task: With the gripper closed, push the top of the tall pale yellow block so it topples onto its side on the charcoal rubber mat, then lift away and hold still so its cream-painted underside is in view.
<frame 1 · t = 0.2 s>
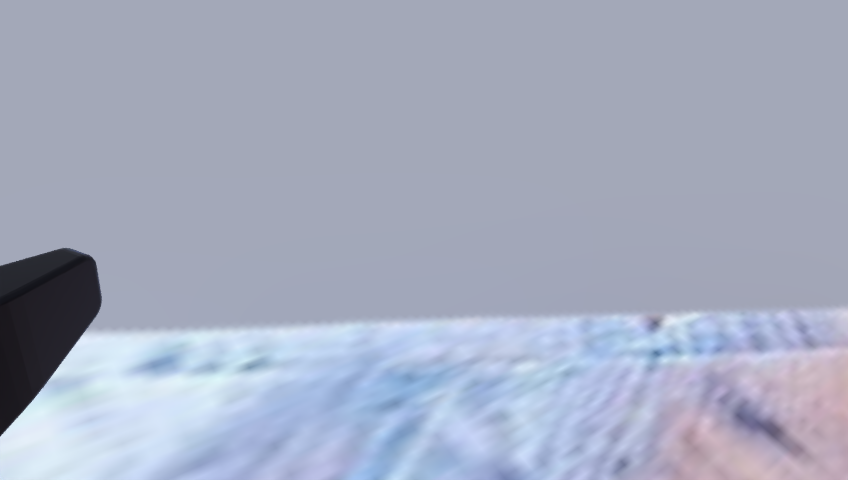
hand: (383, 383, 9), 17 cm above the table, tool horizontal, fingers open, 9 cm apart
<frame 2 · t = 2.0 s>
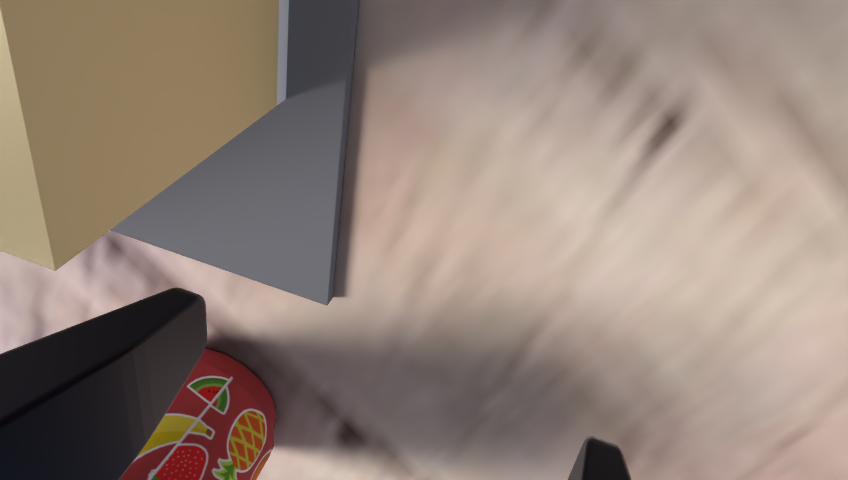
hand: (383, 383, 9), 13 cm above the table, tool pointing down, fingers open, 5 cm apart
smoothie: (225, 390, 33), on the table
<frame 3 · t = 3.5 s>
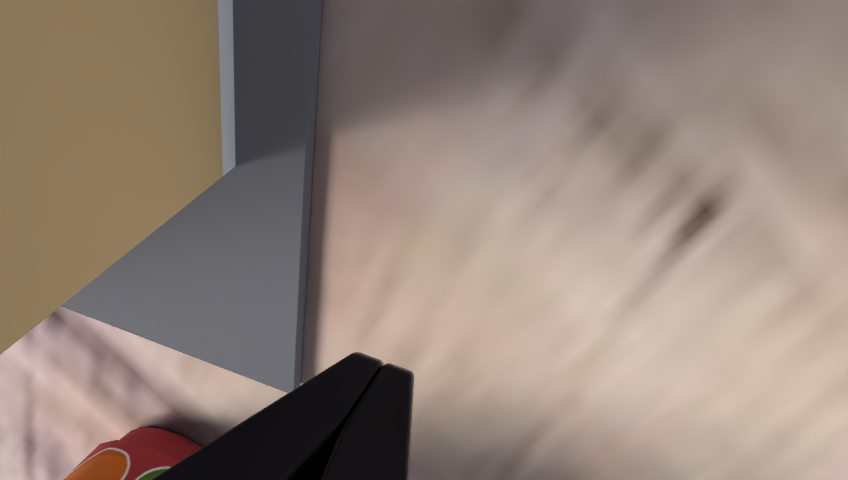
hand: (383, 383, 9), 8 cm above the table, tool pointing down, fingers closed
pale yellow block: (127, 28, 17), resting on charcoal mat
smoothie: (186, 471, 29), on the table
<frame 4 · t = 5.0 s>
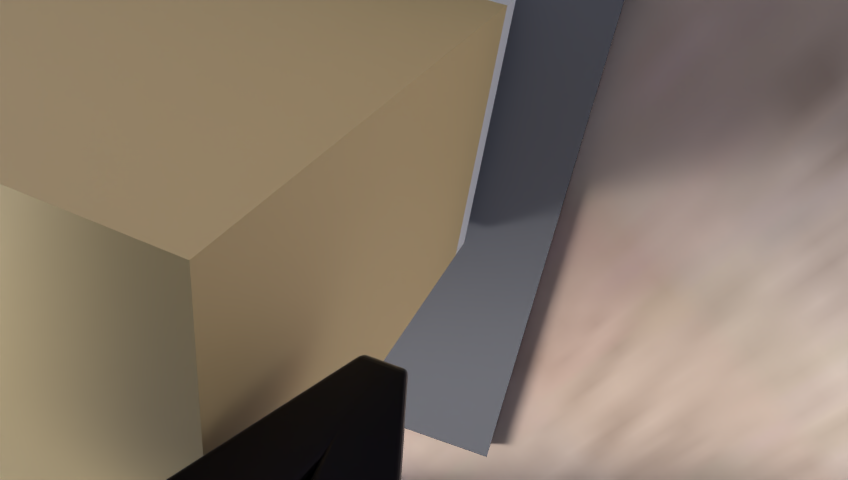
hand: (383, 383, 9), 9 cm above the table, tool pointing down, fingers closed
pale yellow block: (366, 96, 16), point 1 cm above the table, tilted 5°, touching charcoal mat, gripper
charcoal mat: (159, 27, 18), on the table
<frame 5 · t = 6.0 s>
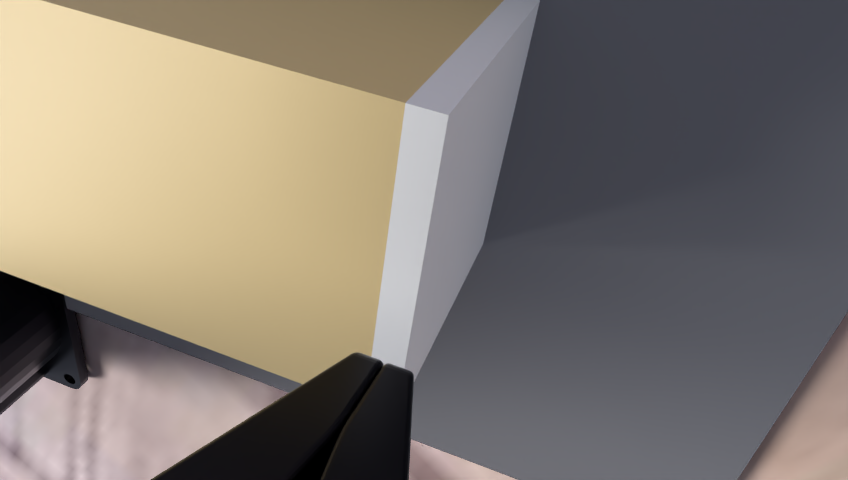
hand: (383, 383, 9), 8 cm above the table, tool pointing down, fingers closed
pale yellow block: (471, 199, 13), point 3 cm above the table, tilted 90°, touching charcoal mat
charcoal mat: (391, 92, 17), on the table
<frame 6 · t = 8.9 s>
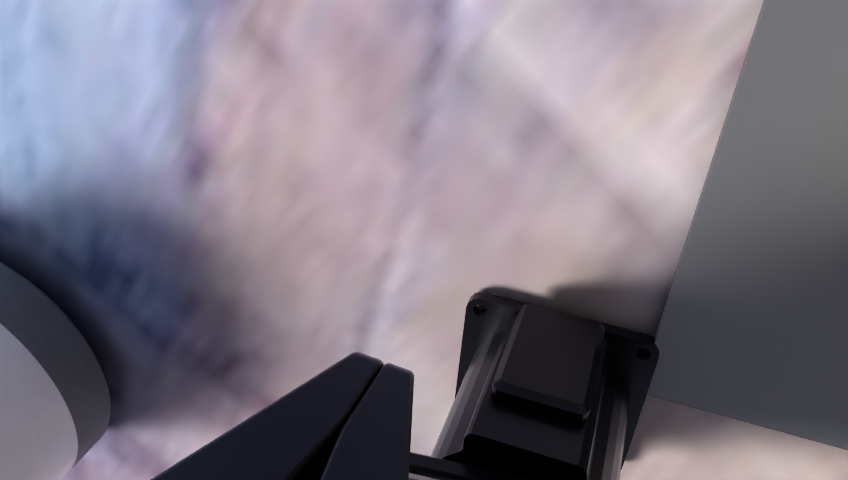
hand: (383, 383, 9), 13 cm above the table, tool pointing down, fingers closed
planter: (24, 333, 36), on the table
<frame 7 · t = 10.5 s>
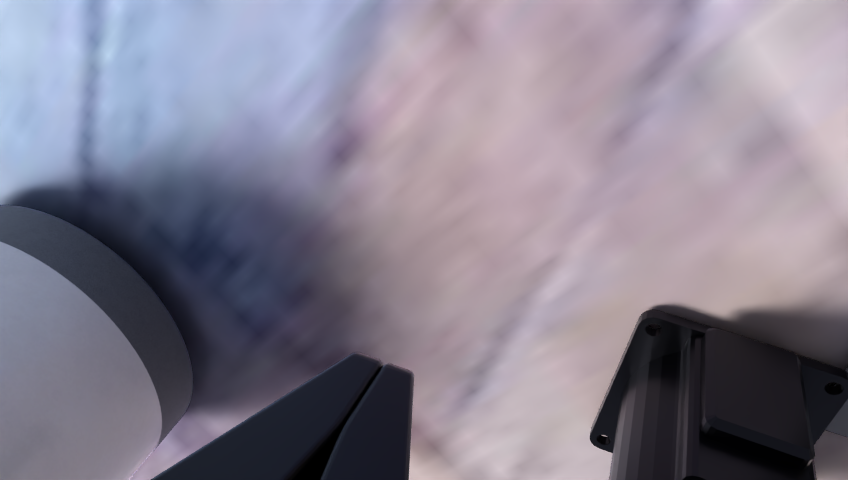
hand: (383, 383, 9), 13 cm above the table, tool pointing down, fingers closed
planter: (93, 308, 33), on the table
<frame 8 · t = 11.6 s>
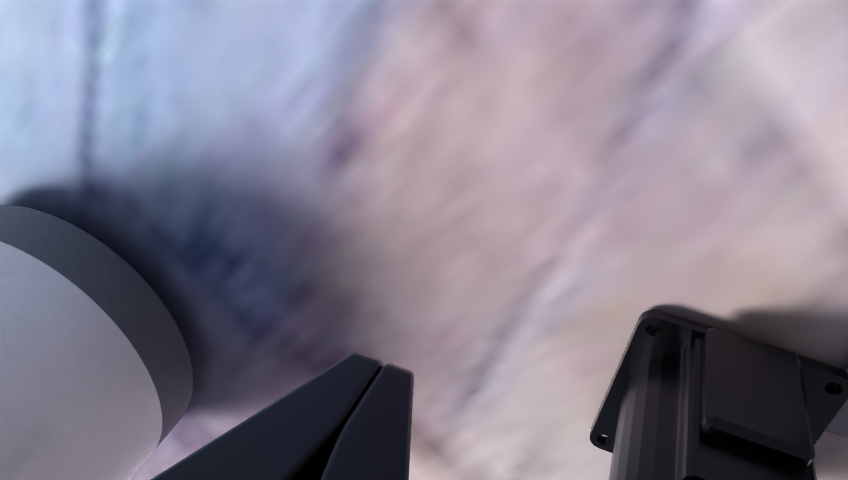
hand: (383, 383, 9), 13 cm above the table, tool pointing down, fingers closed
planter: (93, 308, 33), on the table
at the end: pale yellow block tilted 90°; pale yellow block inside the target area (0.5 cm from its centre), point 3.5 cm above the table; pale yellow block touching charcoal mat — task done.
